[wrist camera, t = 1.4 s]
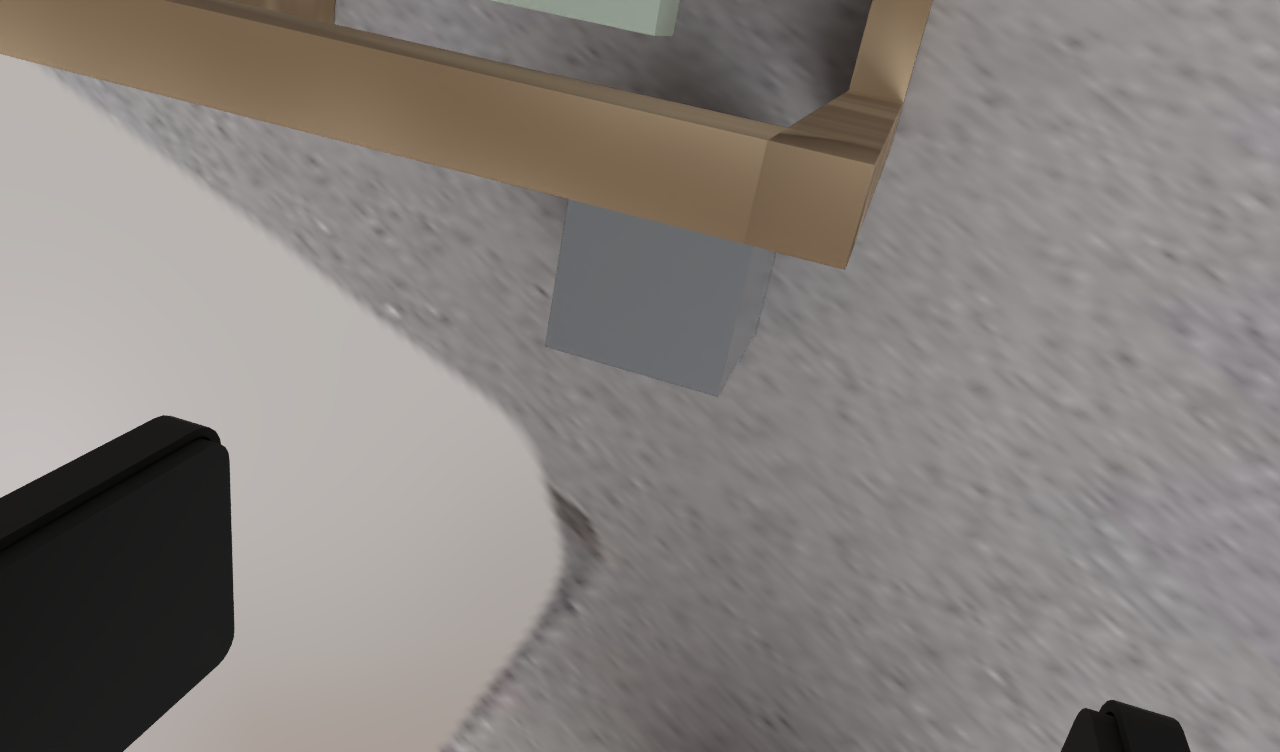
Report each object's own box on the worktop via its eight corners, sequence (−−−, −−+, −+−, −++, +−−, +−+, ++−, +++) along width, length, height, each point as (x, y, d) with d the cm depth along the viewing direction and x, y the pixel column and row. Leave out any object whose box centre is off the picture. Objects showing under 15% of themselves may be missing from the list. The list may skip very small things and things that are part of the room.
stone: (755, 332, 30) (717, 396, 25) (611, 293, 31) (544, 346, 26) (793, 181, 28) (761, 214, 23) (639, 144, 29) (573, 168, 24)
